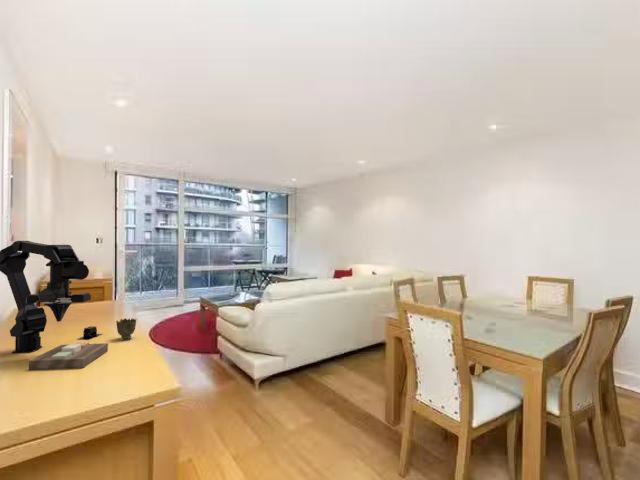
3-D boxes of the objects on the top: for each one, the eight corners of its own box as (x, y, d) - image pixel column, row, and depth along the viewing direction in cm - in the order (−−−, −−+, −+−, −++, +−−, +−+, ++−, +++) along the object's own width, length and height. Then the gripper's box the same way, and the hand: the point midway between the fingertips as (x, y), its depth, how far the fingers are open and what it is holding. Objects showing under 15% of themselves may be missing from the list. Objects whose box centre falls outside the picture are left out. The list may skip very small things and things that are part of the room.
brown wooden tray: (28, 370, 108) (28, 360, 108) (61, 352, 124) (61, 344, 125) (83, 368, 110) (83, 358, 110) (107, 351, 127) (107, 343, 127)
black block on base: (92, 333, 152) (92, 323, 152) (108, 334, 152) (108, 324, 152) (70, 341, 140) (71, 330, 140) (87, 342, 139) (87, 331, 139)
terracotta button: (71, 354, 120) (71, 345, 120) (77, 351, 124) (77, 342, 124) (83, 354, 121) (83, 345, 121) (89, 350, 125) (89, 342, 125)
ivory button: (61, 357, 115) (61, 348, 115) (68, 353, 119) (68, 344, 119) (74, 357, 116) (74, 347, 116) (80, 353, 120) (81, 344, 120)
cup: (126, 341, 139) (127, 322, 139) (111, 340, 140) (112, 321, 140) (140, 336, 146) (140, 318, 146) (125, 335, 148) (125, 317, 148)
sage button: (51, 366, 110) (51, 356, 110) (58, 361, 114) (59, 352, 114) (64, 365, 110) (64, 355, 110) (71, 361, 114) (72, 351, 114)
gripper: (14, 281, 114) (13, 327, 114) (75, 281, 117) (74, 326, 116) (37, 278, 125) (36, 320, 125) (91, 277, 128) (91, 318, 128)
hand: (59, 321), depth 123 cm, fingers closed
